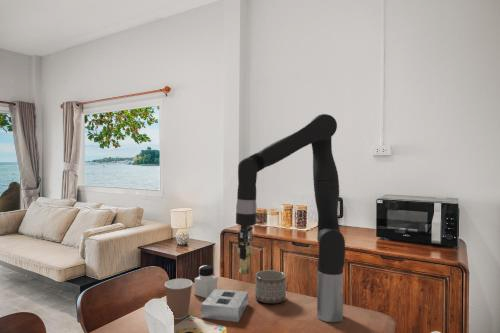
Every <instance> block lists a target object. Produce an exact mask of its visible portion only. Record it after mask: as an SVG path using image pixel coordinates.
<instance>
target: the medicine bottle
mask: <svg viewBox="0 0 500 333" xmlns="http://www.w3.org/2000/svg"><path fill="white" fill-rule="evenodd" d="M214 289H218V276H214V267H213V266H212V265H209V264H208V265H207V264H205V265H204V264H203V265H202V266H201V265H200V267H199V268H198V276H197V277H195V278H194V295H195V296H197V297H201V298H205V299H206V298H207V297H208V296H209V295H210V294H211V293H212V292H213V290H214Z"/></svg>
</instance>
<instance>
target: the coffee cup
mask: <svg viewBox="0 0 500 333" xmlns="http://www.w3.org/2000/svg"><path fill="white" fill-rule="evenodd" d="M193 284H194V282H193V281H192V280H191V279H187V278H174V279H170V280H167V281H165V283H164V287H165V297H166V298H165V299H166V306H167V305H168V306H169V308H170V309H171V311H172V312H173V315H174V319H173V320H182V319H185V318H186V317H188V314H189V312H190V311H189V310H190V302H191V295H192V287H193V286H192V285H193Z"/></svg>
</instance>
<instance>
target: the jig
mask: <svg viewBox="0 0 500 333" xmlns="http://www.w3.org/2000/svg"><path fill="white" fill-rule="evenodd" d="M200 305H201V307H200V308H201V311H200V312H201V313H200V314H201V315H200V318H202V319H208V320H209V319H210V320H217V321H227V322H235V323H239V322H240V320H241V318H242V316H243V314H244V313H245V311H246V309H247V308H248V305H249V292H248V291H242V290H235V289H234V290H232V289H221V288H217V289H214V290H213V292H212V293H211V294H210V295H209V296H208V297H207V298H205V300H204V301H203V302H202V303H201V304H200Z"/></svg>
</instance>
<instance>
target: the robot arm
mask: <svg viewBox="0 0 500 333" xmlns="http://www.w3.org/2000/svg"><path fill="white" fill-rule="evenodd" d="M337 130H338V122H337V120H336V119H335V117H334V116H332V115H331V114H326V113H322V114H321V113H320V114H319V115H316V116H315V117H314V118H312V120H311V121H310V122H309V123H308V124H306V125H305V126H303V127H302V128H300V129H299V130H296V131H295V132H293V133H292V134H289V135H288V136H286V137H283V138H281V139H279V140H276V141H275V142H272V143H270V144H269V145H267V146H265V147H263V148H262V149H260V150H259V151H257V152H255V153H253V154H251V155H249V156H247V157H244V158H243V159H241V160H239V163H238V166H237V179H238V180H237V181H238V185H237V191H236V192H237V194H236V195H237V196H236V199H237V200H236V206H235V207H236V208H235V209H236V211H235V224H236V225H238V226H240V229H239V231H238V233H237V249H238V248H239V249H240V255H239V260H240V259H246V248H247V244H249V245H252V242H253V226H255V225H256V224H257V208H258V206H257V205H258V204H257V180H258V178H257V177H258V173H259V172H260V171H262V170H264V169H265V168H267V167H271V166H272V165H275V164H276V163H278V162H280V161H282V160H284V159H286V158H288V157H289V156H291V155H292V154H294V153H295V152H297V151H300V150H301V149H303V148H305V147H307V146H308V145H311V149H312V178H313V179H312V181H313V191H314V192H313V193H314V199H315V205H316V209H317V210H316V211H317V243H318V262H317V283H316V286H317V288H316V291H317V294H316V295H317V296H316V301H317V302H316V317H317V318H318V319H319V320H321V321H323V322H327V323H338V322H341V323H342V322H343V321H344V318H343V316H344V292H343V291H344V267H345V260H346V259H345V256H346V240H345V237H344V235H343V234H342V232H341V230H340V225H339V217H338V207H339V199H340V182H339V181H340V180H339V173H338V169H337V164H336V161H335V158H334V156H333V150H332V149H333V147H332V137H333V136H334V135H335V134H336V131H337ZM242 244H244V245H242Z"/></svg>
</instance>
